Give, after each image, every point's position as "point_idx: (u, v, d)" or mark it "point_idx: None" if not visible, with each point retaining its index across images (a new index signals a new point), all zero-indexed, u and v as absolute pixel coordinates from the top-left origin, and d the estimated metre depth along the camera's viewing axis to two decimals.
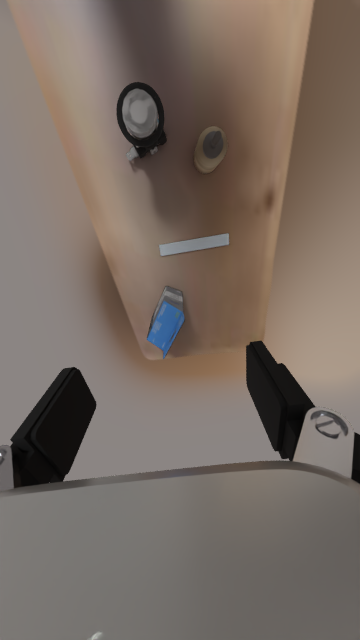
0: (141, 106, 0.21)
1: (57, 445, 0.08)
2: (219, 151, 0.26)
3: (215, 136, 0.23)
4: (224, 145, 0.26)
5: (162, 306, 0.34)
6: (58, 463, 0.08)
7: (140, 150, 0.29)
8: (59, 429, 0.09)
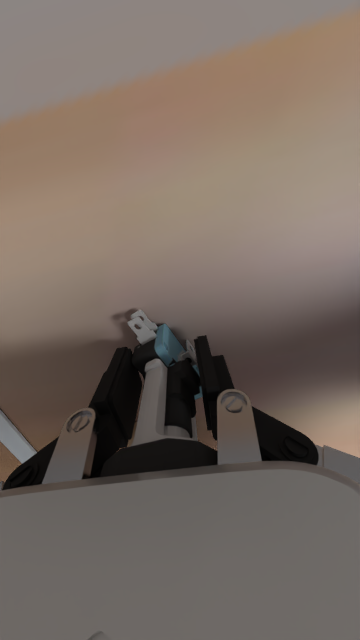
0: None
1: (124, 412, 0.09)
2: None
3: None
4: None
5: None
6: (125, 428, 0.09)
7: (144, 362, 0.11)
8: (124, 399, 0.09)
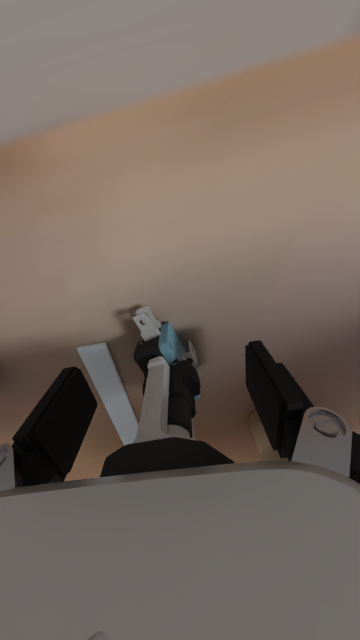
0: None
1: (58, 444, 0.08)
2: None
3: None
4: None
5: None
6: (59, 462, 0.08)
7: (146, 359, 0.11)
8: (60, 428, 0.09)
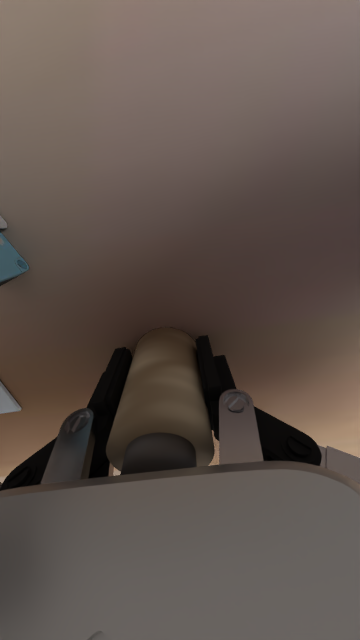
0: None
1: None
2: None
3: None
4: None
5: None
6: None
7: None
8: None
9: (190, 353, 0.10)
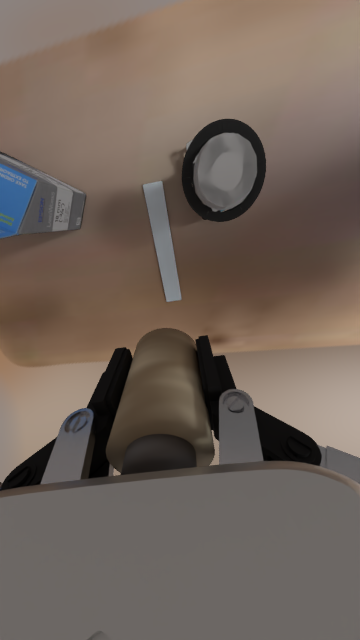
0: (233, 179, 0.12)
1: None
2: None
3: None
4: None
5: (18, 175, 0.13)
6: None
7: (194, 170, 0.18)
8: None
9: (191, 354, 0.10)
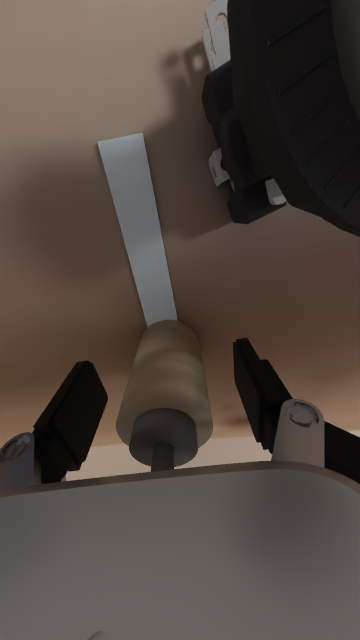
0: None
1: (75, 434, 0.09)
2: (146, 462, 0.08)
3: None
4: None
5: None
6: (76, 451, 0.09)
7: (227, 87, 0.06)
8: (76, 419, 0.09)
9: (192, 343, 0.11)
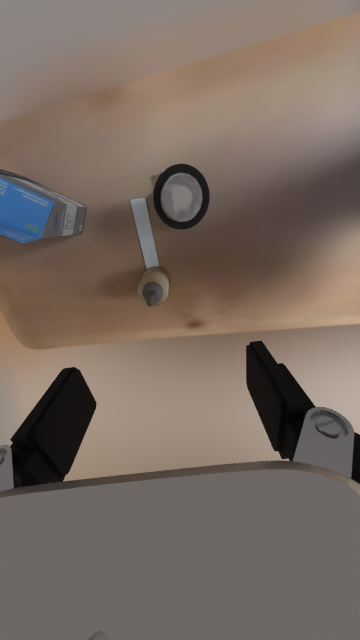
0: (186, 202, 0.18)
1: (57, 445, 0.08)
2: (147, 299, 0.26)
3: (149, 300, 0.22)
4: (154, 302, 0.27)
5: (41, 198, 0.19)
6: (58, 463, 0.08)
7: None
8: (59, 429, 0.09)
9: (164, 272, 0.29)
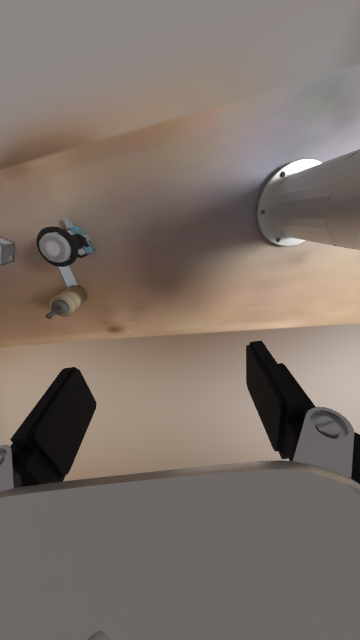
0: (56, 251, 0.27)
1: (57, 445, 0.08)
2: None
3: (47, 314, 0.31)
4: (64, 314, 0.36)
5: None
6: (58, 463, 0.08)
7: None
8: (59, 429, 0.09)
9: (77, 290, 0.38)
